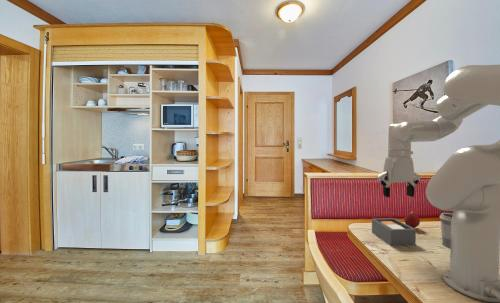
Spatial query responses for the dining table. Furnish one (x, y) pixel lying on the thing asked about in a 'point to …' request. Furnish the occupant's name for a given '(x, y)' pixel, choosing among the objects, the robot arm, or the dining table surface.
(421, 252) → the dining table surface
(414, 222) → the onion
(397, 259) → the dining table surface
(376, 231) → the switch box
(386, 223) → the rocker
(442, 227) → the cup
